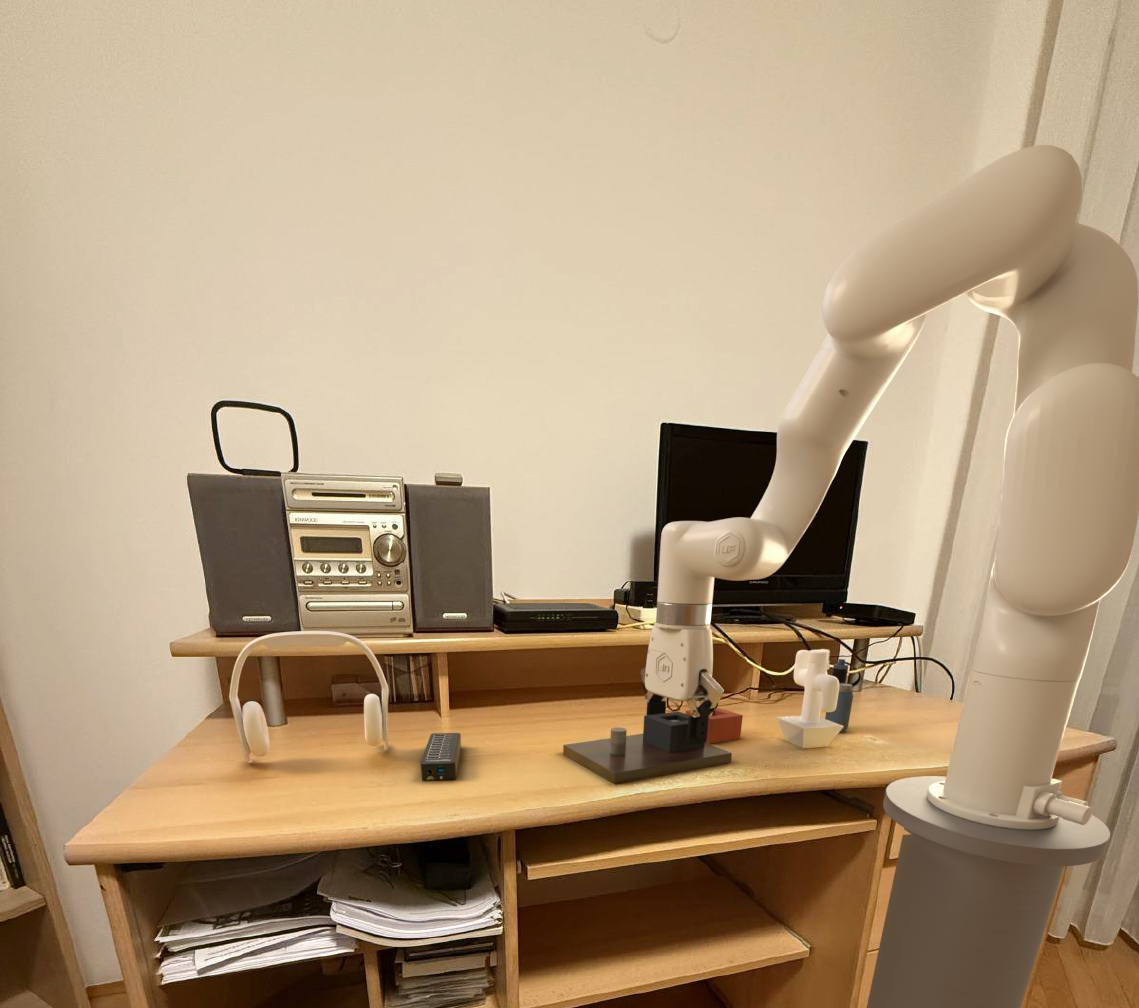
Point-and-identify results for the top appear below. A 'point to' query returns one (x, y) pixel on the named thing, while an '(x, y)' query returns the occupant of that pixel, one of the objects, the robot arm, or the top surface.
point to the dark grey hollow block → (668, 732)
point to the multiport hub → (441, 757)
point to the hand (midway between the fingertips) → (674, 734)
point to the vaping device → (842, 697)
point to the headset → (252, 715)
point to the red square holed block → (723, 726)
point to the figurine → (813, 701)
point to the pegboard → (639, 757)
